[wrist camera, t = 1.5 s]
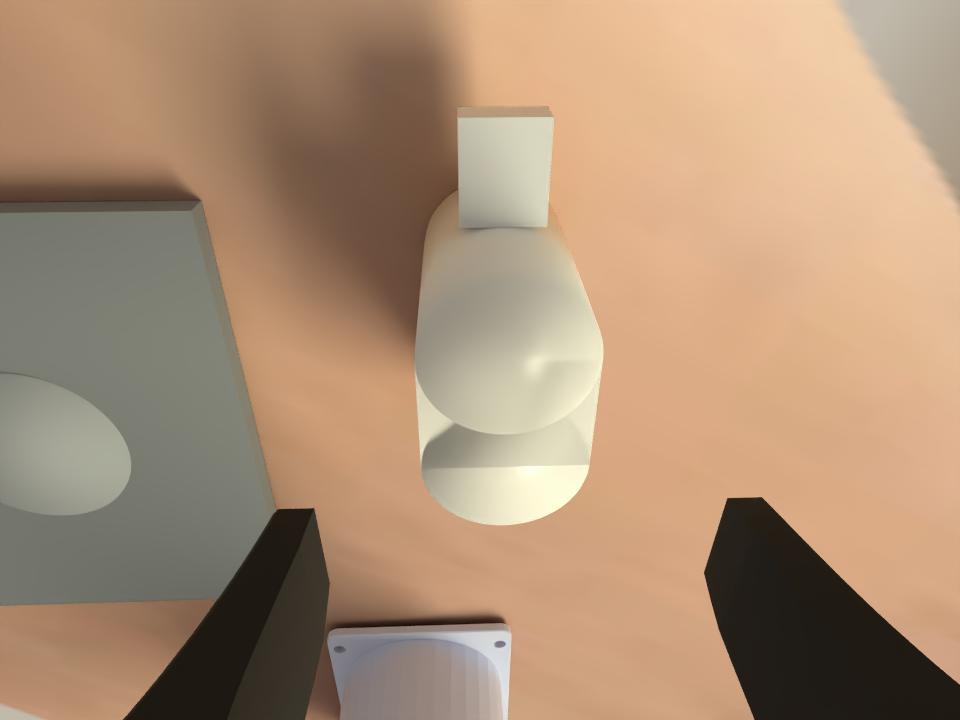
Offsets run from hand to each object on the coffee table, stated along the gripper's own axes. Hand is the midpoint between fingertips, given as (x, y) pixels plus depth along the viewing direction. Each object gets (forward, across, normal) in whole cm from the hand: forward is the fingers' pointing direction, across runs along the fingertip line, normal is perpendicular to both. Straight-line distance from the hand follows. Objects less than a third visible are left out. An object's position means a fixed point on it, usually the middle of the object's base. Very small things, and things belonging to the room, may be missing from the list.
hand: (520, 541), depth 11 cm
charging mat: (+9, +15, +5) cm, 18 cm away
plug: (+10, 0, -1) cm, 10 cm away
